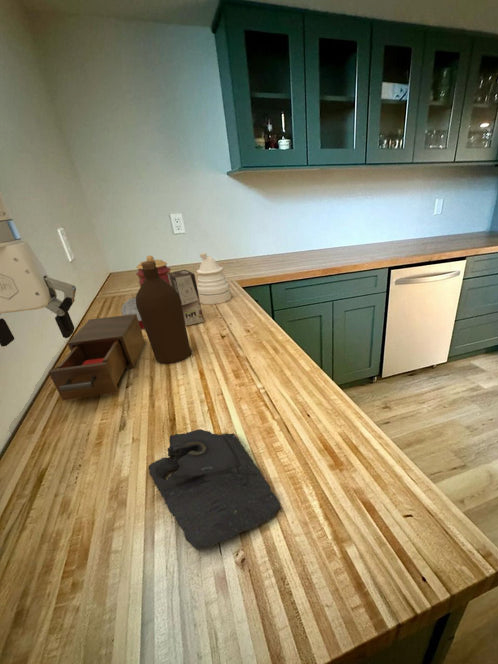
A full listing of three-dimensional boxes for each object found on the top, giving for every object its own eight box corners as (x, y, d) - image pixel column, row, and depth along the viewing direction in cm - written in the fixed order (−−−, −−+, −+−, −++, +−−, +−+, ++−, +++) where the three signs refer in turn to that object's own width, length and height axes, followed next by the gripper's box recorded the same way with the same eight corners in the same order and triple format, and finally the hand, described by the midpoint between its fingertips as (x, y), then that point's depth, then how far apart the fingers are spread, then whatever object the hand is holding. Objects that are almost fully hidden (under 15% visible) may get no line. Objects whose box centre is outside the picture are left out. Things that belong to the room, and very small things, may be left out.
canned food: (157, 331, 121) (165, 307, 117) (143, 340, 112) (150, 314, 108) (128, 317, 120) (134, 292, 116) (110, 325, 111) (116, 298, 107)
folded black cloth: (180, 575, 40) (170, 552, 38) (147, 464, 57) (139, 443, 54) (290, 514, 47) (288, 490, 44) (232, 430, 63) (228, 410, 61)
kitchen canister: (173, 293, 146) (162, 251, 137) (181, 300, 136) (170, 255, 128) (142, 299, 141) (128, 255, 132) (147, 307, 131) (134, 260, 122)
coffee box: (205, 321, 114) (195, 273, 106) (186, 326, 111) (174, 277, 103) (196, 314, 121) (185, 268, 113) (178, 318, 118) (166, 272, 110)
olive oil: (171, 368, 86) (143, 269, 74) (144, 359, 91) (114, 265, 79) (201, 351, 94) (180, 259, 81) (175, 344, 99) (152, 256, 86)
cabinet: (133, 368, 88) (122, 336, 83) (81, 375, 86) (67, 343, 81) (145, 342, 102) (136, 313, 97) (100, 348, 100) (89, 319, 95)
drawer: (112, 402, 72) (100, 373, 69) (55, 411, 71) (39, 381, 67) (132, 361, 89) (123, 336, 85) (85, 367, 87) (74, 342, 84)
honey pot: (215, 305, 128) (206, 257, 119) (192, 301, 134) (181, 254, 125) (237, 296, 138) (230, 250, 128) (215, 292, 144) (206, 248, 135)
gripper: (-99, 244, 46) (-30, 356, 55) (41, 233, 49) (85, 340, 58) (-61, 237, 52) (-5, 338, 61) (60, 227, 55) (97, 324, 64)
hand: (39, 339), depth 59 cm, fingers open, 9 cm apart
